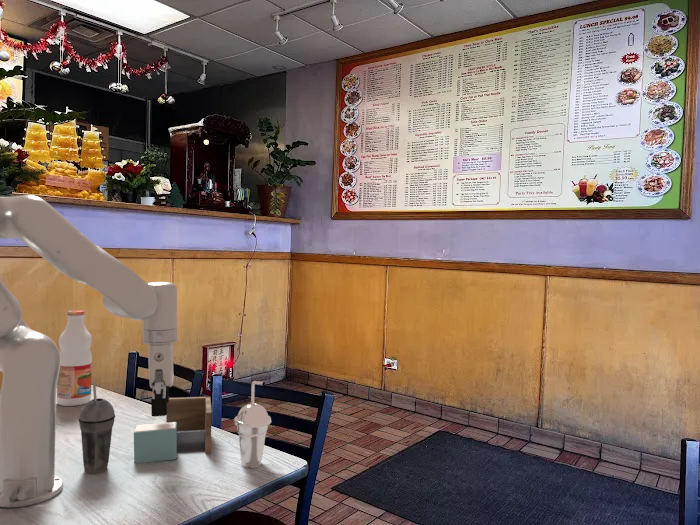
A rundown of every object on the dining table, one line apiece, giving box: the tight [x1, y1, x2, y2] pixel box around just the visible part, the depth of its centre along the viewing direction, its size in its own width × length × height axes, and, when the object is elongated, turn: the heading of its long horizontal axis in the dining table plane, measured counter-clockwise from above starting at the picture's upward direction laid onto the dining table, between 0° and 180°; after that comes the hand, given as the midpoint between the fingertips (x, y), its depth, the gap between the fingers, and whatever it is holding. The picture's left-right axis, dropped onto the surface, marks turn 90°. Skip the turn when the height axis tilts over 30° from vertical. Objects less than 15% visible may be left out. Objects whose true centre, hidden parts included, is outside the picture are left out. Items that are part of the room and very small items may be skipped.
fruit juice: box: [56, 309, 93, 407], centre depth 167 cm, size 9×9×28 cm
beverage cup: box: [78, 379, 116, 475], centre depth 118 cm, size 7×7×20 cm
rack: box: [165, 396, 213, 455], centre depth 135 cm, size 14×11×10 cm
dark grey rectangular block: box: [177, 430, 205, 454], centre depth 132 cm, size 4×8×4 cm, turn 106°
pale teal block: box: [133, 422, 178, 464], centre depth 126 cm, size 5×9×7 cm, turn 106°
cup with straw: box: [233, 380, 272, 469], centre depth 124 cm, size 8×9×20 cm
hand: (160, 408), depth 127 cm, fingers open, 9 cm apart
